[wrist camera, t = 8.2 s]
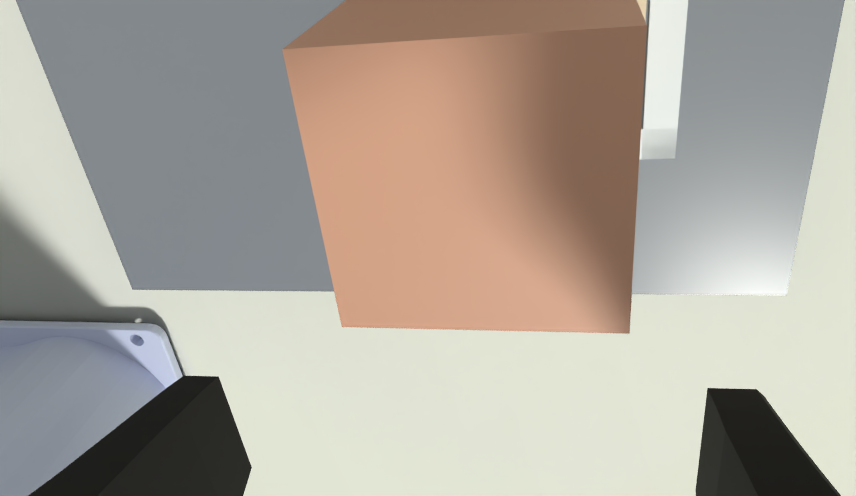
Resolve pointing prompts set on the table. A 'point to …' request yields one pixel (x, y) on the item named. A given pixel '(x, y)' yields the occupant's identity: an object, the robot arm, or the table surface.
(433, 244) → the terracotta block
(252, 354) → the table surface
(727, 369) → the table surface
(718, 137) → the grey flat slab
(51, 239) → the table surface
